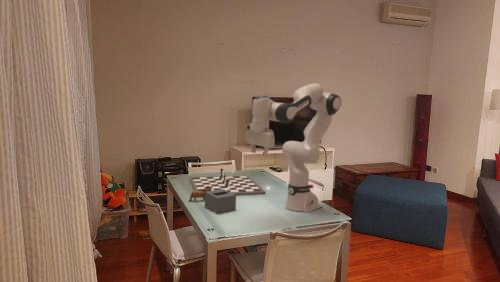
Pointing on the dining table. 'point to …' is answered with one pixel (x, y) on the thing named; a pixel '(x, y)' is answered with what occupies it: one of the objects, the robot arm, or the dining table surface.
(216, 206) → the money box
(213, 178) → the chess set
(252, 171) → the dining table surface
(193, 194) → the lion figurine
